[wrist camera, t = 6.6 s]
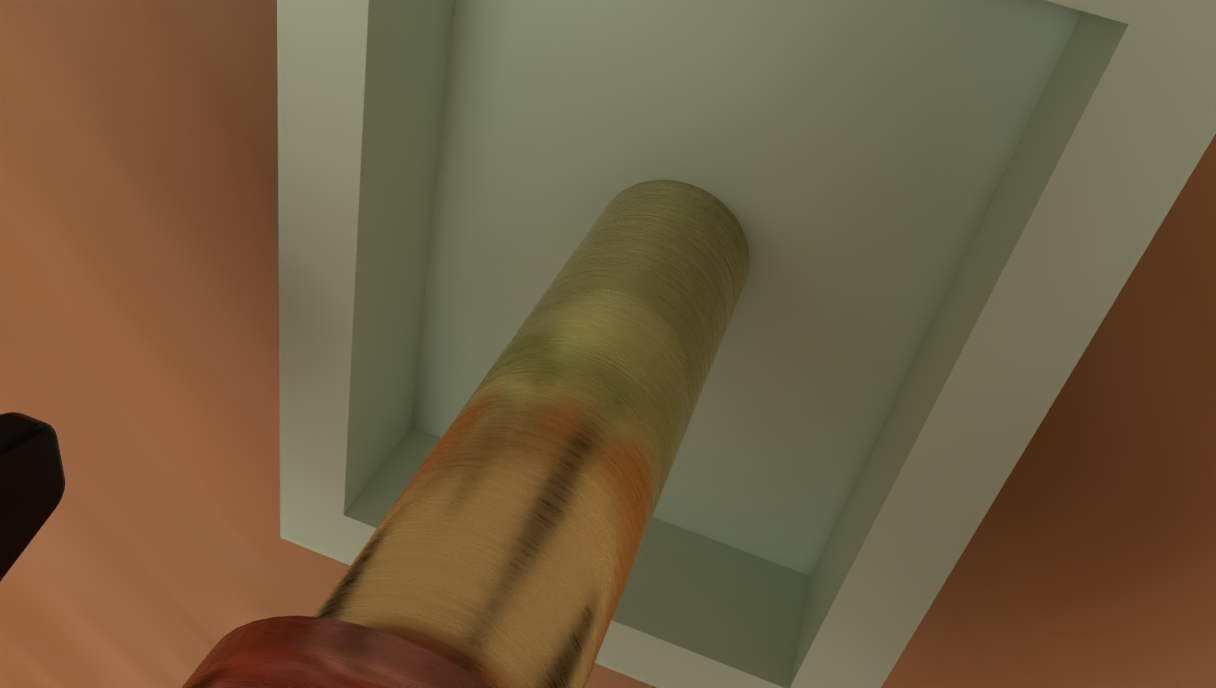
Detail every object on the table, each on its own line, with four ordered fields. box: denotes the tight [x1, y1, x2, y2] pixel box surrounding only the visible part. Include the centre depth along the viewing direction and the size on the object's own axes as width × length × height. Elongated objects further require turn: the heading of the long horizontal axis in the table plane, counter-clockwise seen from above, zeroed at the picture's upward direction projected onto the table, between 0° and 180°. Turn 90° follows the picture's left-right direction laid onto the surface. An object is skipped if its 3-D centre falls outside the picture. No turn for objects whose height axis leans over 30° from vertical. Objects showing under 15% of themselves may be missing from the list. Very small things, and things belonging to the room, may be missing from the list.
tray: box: [277, 0, 1216, 688], centre depth 14 cm, size 10×13×3 cm
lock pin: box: [182, 180, 749, 688], centre depth 11 cm, size 3×3×10 cm
